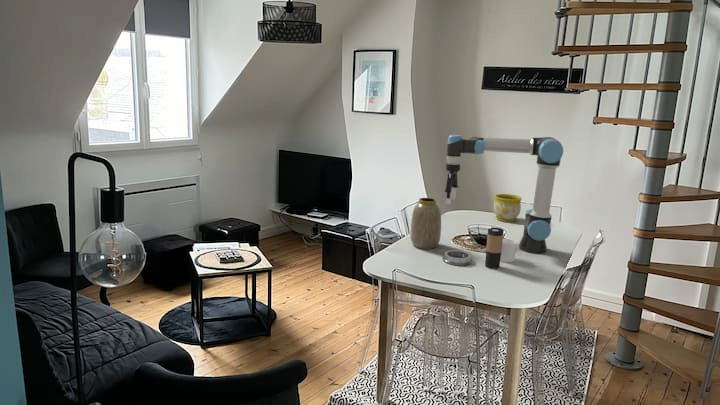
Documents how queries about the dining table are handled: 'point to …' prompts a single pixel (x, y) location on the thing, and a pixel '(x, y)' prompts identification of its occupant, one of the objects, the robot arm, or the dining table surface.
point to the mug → (508, 251)
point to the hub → (457, 258)
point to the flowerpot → (507, 207)
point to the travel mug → (494, 248)
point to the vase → (426, 224)
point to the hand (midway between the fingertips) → (450, 201)
